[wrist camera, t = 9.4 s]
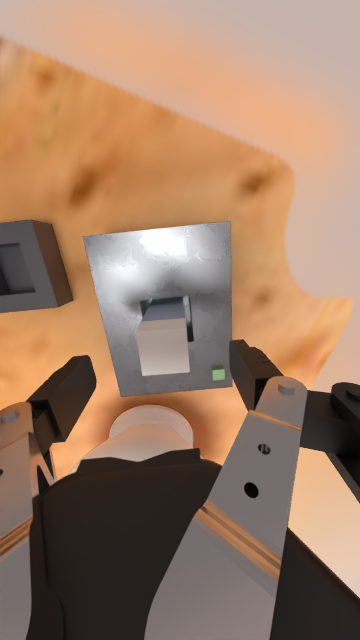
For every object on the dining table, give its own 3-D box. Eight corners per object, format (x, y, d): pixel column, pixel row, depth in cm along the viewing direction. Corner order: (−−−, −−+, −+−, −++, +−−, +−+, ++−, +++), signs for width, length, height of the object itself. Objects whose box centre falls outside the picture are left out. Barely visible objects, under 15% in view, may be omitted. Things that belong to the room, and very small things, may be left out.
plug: (153, 297, 22) (135, 332, 12) (182, 295, 22) (186, 328, 12) (156, 324, 23) (142, 375, 13) (184, 322, 23) (189, 372, 13)
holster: (-25, 232, 20) (-58, 229, 17) (51, 224, 20) (31, 219, 17) (5, 307, 23) (-20, 314, 20) (73, 300, 23) (58, 307, 20)
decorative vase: (80, 393, 27) (-647, 1445, 3) (209, 384, 27) (465, 1409, 3) (104, 480, 33) (-88, 1086, 9) (211, 474, 32) (303, 1069, 9)
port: (104, 240, 21) (79, 236, 15) (217, 228, 20) (232, 219, 15) (131, 370, 26) (119, 400, 21) (222, 362, 26) (233, 389, 20)
